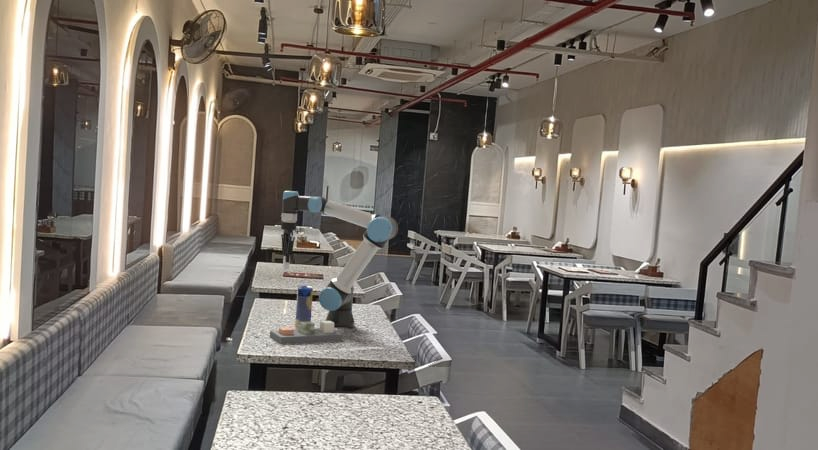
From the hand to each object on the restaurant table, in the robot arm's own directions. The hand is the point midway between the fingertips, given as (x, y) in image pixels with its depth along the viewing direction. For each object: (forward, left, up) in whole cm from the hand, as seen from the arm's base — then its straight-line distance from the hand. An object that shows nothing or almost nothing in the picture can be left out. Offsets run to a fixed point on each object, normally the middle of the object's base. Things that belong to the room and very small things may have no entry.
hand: (285, 268), depth 359 cm
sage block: (+2, +36, -25) cm, 44 cm away
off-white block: (-8, +36, -25) cm, 44 cm away
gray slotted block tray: (+2, +36, -28) cm, 46 cm away
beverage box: (-3, +19, -29) cm, 34 cm away
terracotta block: (+12, +36, -27) cm, 47 cm away
